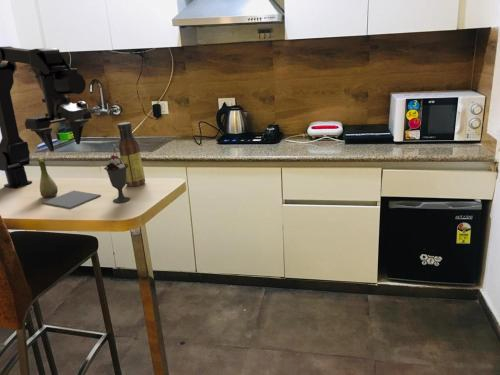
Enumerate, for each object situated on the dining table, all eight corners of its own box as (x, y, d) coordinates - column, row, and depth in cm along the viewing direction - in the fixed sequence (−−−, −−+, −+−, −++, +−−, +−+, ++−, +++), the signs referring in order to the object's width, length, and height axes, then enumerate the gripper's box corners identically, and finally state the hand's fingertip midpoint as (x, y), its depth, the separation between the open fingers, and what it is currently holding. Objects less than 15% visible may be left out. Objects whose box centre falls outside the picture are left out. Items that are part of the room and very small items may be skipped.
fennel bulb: (47, 193, 134) (38, 156, 130) (62, 192, 134) (54, 155, 130) (37, 199, 129) (28, 161, 125) (53, 199, 128) (45, 160, 124)
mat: (42, 203, 125) (42, 202, 125) (73, 191, 134) (73, 190, 134) (70, 208, 119) (70, 207, 119) (100, 196, 128) (100, 194, 128)
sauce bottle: (147, 180, 140) (138, 120, 134) (143, 186, 134) (134, 124, 128) (127, 182, 140) (117, 121, 134) (122, 188, 134) (112, 125, 128)
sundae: (126, 194, 128) (118, 145, 123) (137, 199, 123) (130, 148, 118) (105, 201, 124) (96, 150, 119) (116, 206, 119) (107, 153, 114)
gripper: (44, 98, 110) (56, 157, 115) (99, 90, 126) (108, 142, 131) (17, 98, 116) (30, 154, 121) (74, 90, 131) (83, 140, 136)
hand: (65, 147), depth 127 cm, fingers open, 9 cm apart
